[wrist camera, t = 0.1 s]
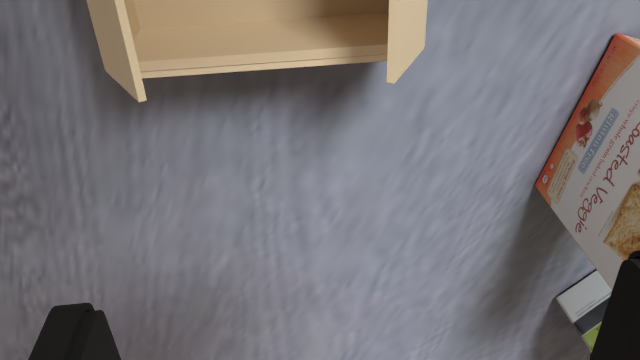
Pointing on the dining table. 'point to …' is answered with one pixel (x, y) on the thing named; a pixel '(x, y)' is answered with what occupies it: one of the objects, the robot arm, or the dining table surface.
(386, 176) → the dining table surface
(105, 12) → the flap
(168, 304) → the dining table surface
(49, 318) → the robot arm
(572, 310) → the tea box
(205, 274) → the dining table surface
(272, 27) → the carton
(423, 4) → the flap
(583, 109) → the cracker box
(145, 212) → the dining table surface
